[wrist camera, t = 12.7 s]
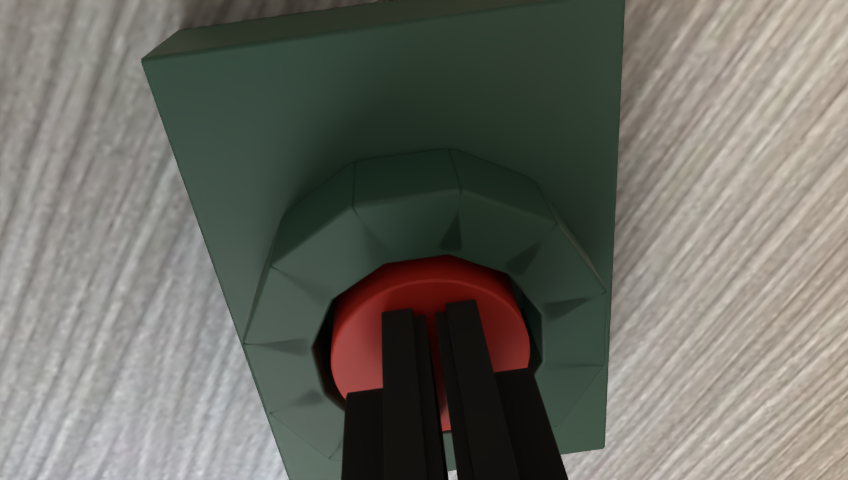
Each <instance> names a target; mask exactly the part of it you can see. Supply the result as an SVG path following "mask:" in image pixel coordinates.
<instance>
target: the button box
mask: <svg viewBox="0 0 848 480" xmlns="http://www.w3.org/2000/svg"><path fill="white" fill-rule="evenodd" d="M624 12H625V0H391V1H384V2H376V3H369V4H362V5H355V6H348V7H341V8H334V9H327V10H319V11H312V12H305V13H298V14H291V15H284V16H277V17H270V18H262V19H255V20H248V21H241V22H234V23H227V24H220V25H213V26H205V27H198V28H191V29H184V30H178V31H177V32H175V33H174V34H173V35H171V36H170V37H169V38H167V39H166V40H165V41H164V42H162V43H161V44H160V45H158V46H157V47H156V48H155V49H153V50H152V51H151V52H149V53H148V54H147V55H146V56H144V57H143V58H142V59H141V63H142V66H143V69H144V71H145V74H146V77H147V80H148V83H149V86H150V88H151V91H152V94H153V97H154V100H155V102H156V105H157V108H158V111H159V114H160V117H161V119H162V122H163V125H164V128H165V131H166V133H167V136H168V139H169V142H170V145H171V148H172V150H173V153H174V156H175V159H176V162H177V164H178V167H179V170H180V173H181V176H182V179H183V181H184V184H185V187H186V190H187V193H188V195H189V198H190V201H191V204H192V207H193V210H194V212H195V215H196V218H197V221H198V224H199V227H200V229H201V232H202V235H203V238H204V241H205V243H206V246H207V249H208V252H209V255H210V258H211V260H212V263H213V266H214V269H215V272H216V274H217V277H218V280H219V283H220V286H221V289H222V291H223V294H224V297H225V300H226V303H227V305H228V308H229V311H230V314H231V317H232V320H233V322H234V325H235V328H236V331H237V334H238V336H239V339H240V342H241V345H242V348H243V351H244V353H245V356H246V359H247V362H248V365H249V367H250V370H251V373H252V376H253V379H254V382H255V384H256V387H257V390H258V393H259V396H260V399H261V401H262V404H263V407H264V410H265V413H266V415H267V418H268V421H269V424H270V427H271V430H272V432H273V435H274V438H275V441H276V444H277V446H278V449H279V452H280V455H281V458H282V461H283V463H284V466H285V469H286V472H287V475H288V477H289V480H341V471H342V453H343V435H344V418H345V402H346V400H345V398H344V397H343V396H342V395H341V393H340V391H339V389H338V387H337V386H336V384H335V381H334V378H333V375H332V370H331V345H332V334H333V322H334V311H335V300H336V297H337V296H338V295H340V294H341V293H343V292H344V291H346V290H347V289H348V288H350V287H351V286H353V285H354V284H356V283H357V282H359V281H360V280H362V279H363V278H364V277H366V276H367V275H369V274H370V273H372V272H373V271H375V270H376V269H378V268H379V267H380V266H382V265H383V264H386V263H393V262H400V261H407V260H414V259H421V258H428V257H435V256H442V255H452V256H455V257H458V258H461V259H464V260H467V261H470V262H473V263H476V264H479V265H482V266H485V267H488V268H491V269H494V270H497V271H500V272H503V273H506V274H508V277H509V280H510V282H511V285H512V288H513V291H514V294H515V297H516V300H517V303H518V306H519V309H520V312H521V314H522V317H523V320H524V323H525V326H526V329H527V332H528V336H529V342H530V358H529V362H528V367H531V369H532V370H533V373H534V376H535V379H536V382H537V385H538V388H539V391H540V394H541V397H542V400H543V403H544V406H545V409H546V412H547V415H548V419H549V422H550V425H551V428H552V431H553V434H554V437H555V440H556V443H557V446H558V449H559V452H560V455H562V454H569V453H576V452H583V451H590V450H597V449H603V448H604V447H605V427H606V405H607V384H608V362H609V340H610V318H611V296H612V274H613V252H614V230H615V209H616V187H617V165H618V143H619V121H620V99H621V77H622V55H623V33H624ZM528 367H527V368H528ZM442 432H443V439H444V447H445V455H446V463H447V471H452V470H457V469H456V462H455V455H454V448H453V441H452V433H451V430H445V431H442Z"/></svg>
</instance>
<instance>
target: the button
mask: <svg viewBox="0 0 848 480" xmlns="http://www.w3.org/2000/svg"><path fill="white" fill-rule="evenodd" d="M472 299H476V302H477V306H478V310H479V314H480V318H481V322H482V326H483V330H484V335H485V339H486V343H487V347H488V351H489V355H490V359H491V363H492V367H493V371H494V372H499V371H506V370H514V369H521V368H527V367H528V362H529V358H530V342H529V336H528V332H527V329H526V326H525V323H524V320H523V317H522V314H521V312H520V309H519V306H518V303H517V300H516V297H515V294H514V291H513V288H512V285H511V282H510V280H509V277H508V274H506V273H503V272H500V271H497V270H494V269H491V268H488V267H485V266H482V265H479V264H476V263H473V262H470V261H467V260H464V259H461V258H458V257H455V256H452V255H442V256H435V257H428V258H421V259H414V260H407V261H400V262H393V263H386V264H383V265H382V266H380V267H379V268H378V269H376V270H375V271H373V272H372V273H370V274H369V275H367V276H366V277H364V278H363V279H362V280H360V281H359V282H357V283H356V284H354V285H353V286H351V287H350V288H348V289H347V290H346V291H344V292H343V293H341V294H340V295H338V296H337V297H336V300H335V311H334V322H333V334H332V345H331V370H332V375H333V378H334V381H335V384H336V386H337V387H338V389H339V391H340V393H341V395H342V396H343V397H344V398H345V400H346V395H347V393H349V392H356V391H363V390H370V389H377V388H383V381H382V318H381V317H382V312H386V311H393V310H400V309H407V308H412V310H413V316H416V315H424V314H425V317H426V324H427V331H428V337H429V344H430V351H431V357H432V364H433V371H434V377H435V384H436V391H437V397H438V404H439V411H440V417H441V424H442V431H445V430H451V426H450V419H449V412H448V405H447V398H446V390H445V383H444V376H443V369H442V362H441V355H440V347H439V340H438V333H437V326H436V319H435V313H438V312H445V311H446V304H445V303H450V302H458V301H465V300H472Z"/></svg>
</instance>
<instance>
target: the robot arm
mask: <svg viewBox="0 0 848 480" xmlns="http://www.w3.org/2000/svg"><path fill="white" fill-rule="evenodd" d="M445 304H446V311H445V312H438V313H435V319H436V326H437V333H438V340H439V347H440V355H441V362H442V369H443V376H444V383H445V390H446V398H447V405H448V412H449V419H450V426H451V433H452V441H453V448H454V455H455V462H456V469H457V476H458V480H568V477H567V474H566V471H565V468H564V465H563V462H562V459H561V455H560V452H559V449H558V446H557V443H556V440H555V437H554V434H553V431H552V428H551V425H550V422H549V419H548V415H547V412H546V409H545V406H544V403H543V400H542V397H541V394H540V391H539V388H538V385H537V382H536V379H535V376H534V373H533V370H532V369H531V367H528V368H521V369H514V370H506V371H499V372H494V371H493V367H492V363H491V359H490V355H489V351H488V347H487V343H486V339H485V335H484V330H483V326H482V322H481V318H480V314H479V310H478V306H477V302H476V299H472V300H465V301H458V302H450V303H445ZM381 318H382V381H383V388H377V389H370V390H363V391H356V392H349V393H347V395H346V402H345V418H344V435H343V453H342V471H341V480H449V479H448V471H447V463H446V455H445V447H444V439H443V432H442V424H441V417H440V411H439V404H438V397H437V391H436V384H435V377H434V371H433V364H432V357H431V351H430V344H429V337H428V331H427V324H426V317H425V314H424V315H416V316H413V310H412V308H407V309H400V310H393V311H386V312H382V317H381Z"/></svg>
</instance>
